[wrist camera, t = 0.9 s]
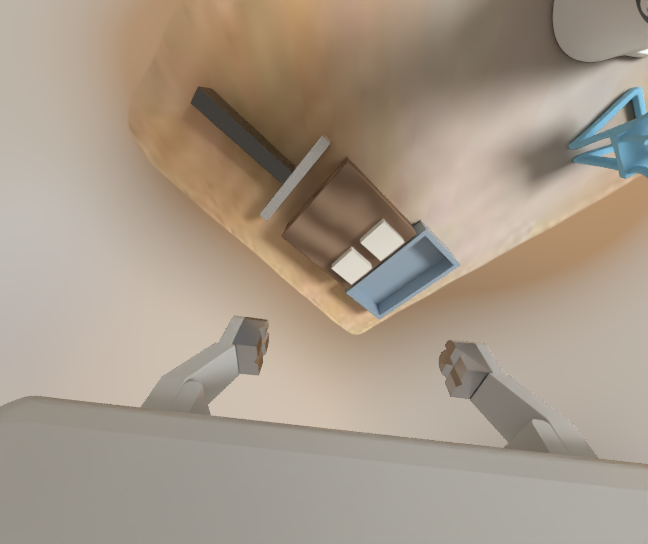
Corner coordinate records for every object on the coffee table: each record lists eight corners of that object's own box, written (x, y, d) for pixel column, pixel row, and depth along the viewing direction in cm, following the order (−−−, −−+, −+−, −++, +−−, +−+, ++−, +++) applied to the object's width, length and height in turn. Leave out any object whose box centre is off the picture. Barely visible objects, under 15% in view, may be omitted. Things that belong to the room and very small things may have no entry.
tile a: (382, 218, 40) (384, 221, 39) (402, 238, 42) (404, 242, 40) (359, 238, 42) (360, 242, 41) (379, 256, 44) (380, 261, 43)
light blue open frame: (562, 132, 36) (643, 142, 26) (635, 85, 33) (760, 76, 23) (576, 175, 39) (654, 198, 29) (645, 136, 36) (760, 148, 26)
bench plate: (347, 157, 40) (347, 162, 36) (410, 222, 45) (416, 233, 41) (287, 225, 47) (281, 236, 43) (347, 274, 52) (347, 289, 48)
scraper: (185, 141, 41) (171, 143, 37) (235, 41, 33) (222, 34, 30) (272, 212, 46) (267, 220, 43) (331, 141, 39) (330, 144, 36)
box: (420, 220, 45) (426, 229, 41) (452, 254, 48) (460, 265, 45) (345, 281, 53) (345, 293, 50) (377, 307, 56) (379, 319, 53)
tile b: (351, 246, 43) (351, 250, 42) (371, 263, 45) (371, 268, 43) (331, 264, 45) (331, 268, 44) (351, 280, 47) (351, 284, 46)
